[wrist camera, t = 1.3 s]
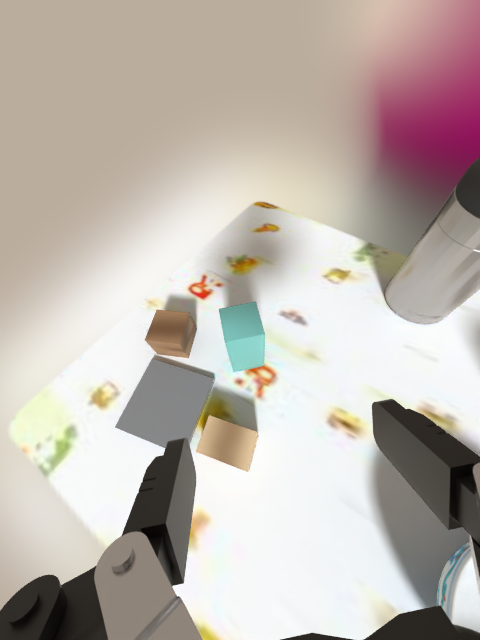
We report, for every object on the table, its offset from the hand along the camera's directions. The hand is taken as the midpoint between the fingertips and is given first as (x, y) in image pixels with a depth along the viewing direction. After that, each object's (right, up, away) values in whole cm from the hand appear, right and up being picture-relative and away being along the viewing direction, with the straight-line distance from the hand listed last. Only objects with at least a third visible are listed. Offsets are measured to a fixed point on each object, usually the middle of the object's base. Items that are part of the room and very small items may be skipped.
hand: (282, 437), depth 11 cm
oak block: (-3, -11, +21) cm, 23 cm away
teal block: (-1, 0, +27) cm, 27 cm away
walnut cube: (-12, +2, +29) cm, 31 cm away
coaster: (-12, -7, +24) cm, 27 cm away
